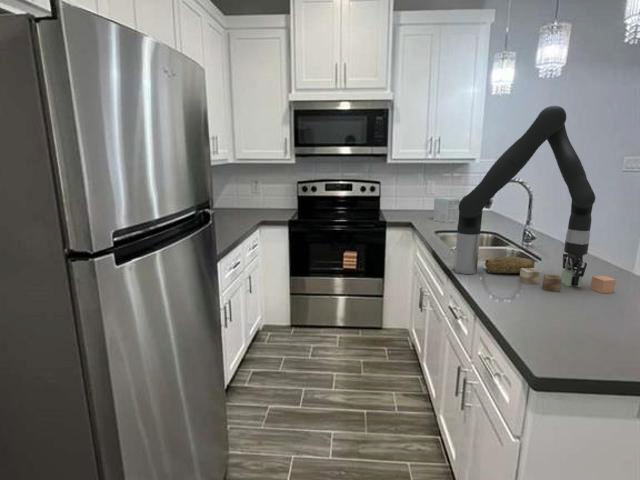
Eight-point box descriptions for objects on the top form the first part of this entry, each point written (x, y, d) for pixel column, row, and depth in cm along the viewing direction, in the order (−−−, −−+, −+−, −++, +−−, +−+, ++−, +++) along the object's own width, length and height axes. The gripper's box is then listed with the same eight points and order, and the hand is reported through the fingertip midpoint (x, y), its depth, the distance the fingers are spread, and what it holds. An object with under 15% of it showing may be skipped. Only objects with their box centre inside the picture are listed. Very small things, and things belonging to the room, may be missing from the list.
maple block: (526, 284, 151) (527, 272, 150) (519, 280, 156) (520, 268, 155) (538, 284, 151) (540, 271, 150) (531, 279, 156) (532, 268, 155)
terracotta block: (602, 293, 140) (604, 280, 139) (590, 289, 145) (592, 276, 144) (613, 292, 141) (615, 279, 140) (601, 288, 146) (603, 275, 145)
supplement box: (458, 221, 285) (460, 198, 281) (446, 223, 279) (448, 199, 275) (444, 219, 296) (446, 196, 293) (432, 220, 290) (434, 197, 286)
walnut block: (544, 290, 144) (545, 278, 142) (542, 286, 148) (544, 274, 147) (559, 292, 142) (561, 279, 140) (557, 288, 146) (559, 275, 145)
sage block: (566, 286, 148) (568, 273, 147) (560, 281, 153) (562, 269, 152) (580, 286, 147) (582, 274, 146) (574, 282, 152) (576, 270, 151)
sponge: (489, 278, 162) (541, 272, 156) (486, 260, 162) (538, 253, 156) (485, 274, 175) (533, 268, 169) (482, 257, 175) (530, 251, 169)
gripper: (558, 236, 154) (552, 277, 157) (575, 245, 140) (569, 289, 144) (578, 237, 152) (572, 277, 156) (598, 245, 139) (591, 290, 142)
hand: (570, 283), depth 150 cm, fingers closed on sage block, 5 cm apart
